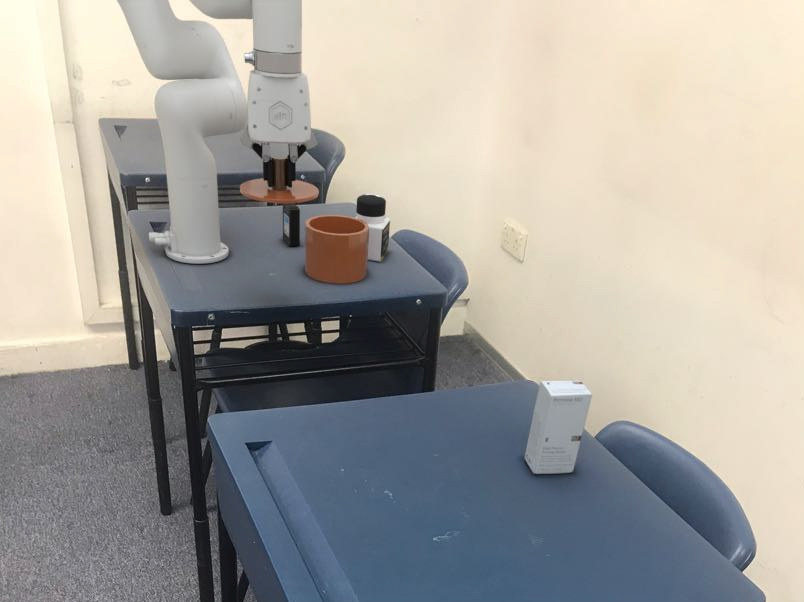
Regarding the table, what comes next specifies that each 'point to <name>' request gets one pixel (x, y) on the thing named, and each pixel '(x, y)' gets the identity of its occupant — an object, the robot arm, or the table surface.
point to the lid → (279, 187)
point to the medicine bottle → (374, 224)
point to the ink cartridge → (291, 224)
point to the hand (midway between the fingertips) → (279, 184)
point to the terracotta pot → (336, 248)
